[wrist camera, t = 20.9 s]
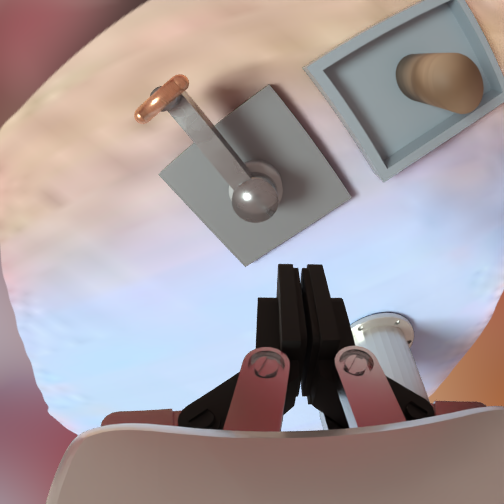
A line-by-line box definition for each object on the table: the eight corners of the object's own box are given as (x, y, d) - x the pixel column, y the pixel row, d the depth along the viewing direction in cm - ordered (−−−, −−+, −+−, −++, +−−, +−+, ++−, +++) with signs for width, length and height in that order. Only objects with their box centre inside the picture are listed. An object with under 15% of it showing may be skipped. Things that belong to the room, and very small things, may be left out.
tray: (495, 92, 24) (511, 96, 22) (374, 172, 31) (383, 182, 28) (441, -9, 19) (456, -14, 17) (302, 67, 26) (306, 67, 23)
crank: (290, 194, 29) (295, 218, 25) (246, 222, 31) (244, 250, 26) (191, 68, 23) (175, 67, 19) (148, 104, 25) (125, 112, 21)
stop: (447, 85, 24) (492, 94, 18) (415, 110, 26) (455, 125, 20) (419, 45, 23) (461, 42, 16) (385, 71, 25) (422, 72, 18)
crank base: (349, 194, 32) (356, 205, 30) (245, 262, 37) (244, 277, 35) (269, 84, 27) (269, 85, 24) (161, 171, 32) (152, 181, 29)
